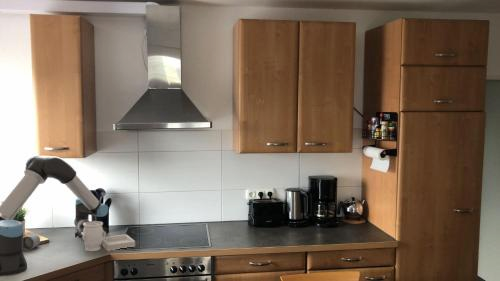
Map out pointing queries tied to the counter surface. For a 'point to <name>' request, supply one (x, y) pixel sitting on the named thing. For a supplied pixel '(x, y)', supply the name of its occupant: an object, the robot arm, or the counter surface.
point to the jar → (93, 235)
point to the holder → (117, 242)
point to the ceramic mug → (30, 241)
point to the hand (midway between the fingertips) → (94, 236)
